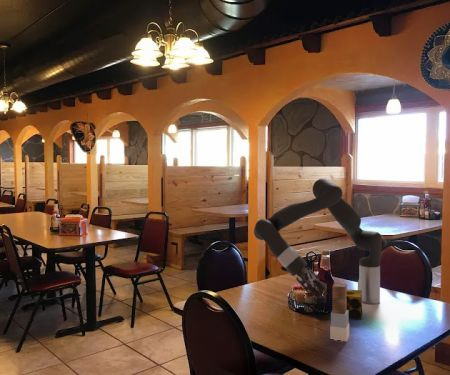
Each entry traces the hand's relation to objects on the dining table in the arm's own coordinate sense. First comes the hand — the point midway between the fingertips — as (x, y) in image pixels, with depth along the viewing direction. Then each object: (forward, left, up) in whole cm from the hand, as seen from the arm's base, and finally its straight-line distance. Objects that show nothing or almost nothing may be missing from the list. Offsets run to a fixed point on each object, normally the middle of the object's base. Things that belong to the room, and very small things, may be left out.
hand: (321, 293), depth 164 cm
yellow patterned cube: (-12, +24, -16) cm, 32 cm away
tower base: (+5, +4, -16) cm, 17 cm away
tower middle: (+5, +4, -11) cm, 13 cm away
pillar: (+5, +4, -6) cm, 9 cm away
